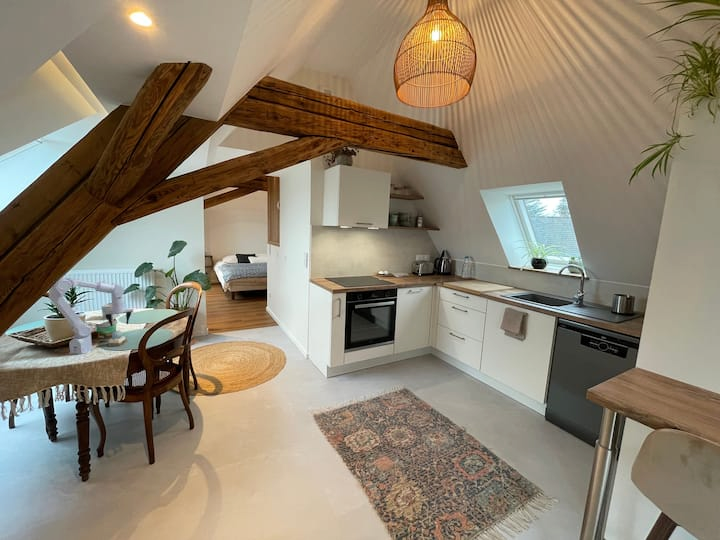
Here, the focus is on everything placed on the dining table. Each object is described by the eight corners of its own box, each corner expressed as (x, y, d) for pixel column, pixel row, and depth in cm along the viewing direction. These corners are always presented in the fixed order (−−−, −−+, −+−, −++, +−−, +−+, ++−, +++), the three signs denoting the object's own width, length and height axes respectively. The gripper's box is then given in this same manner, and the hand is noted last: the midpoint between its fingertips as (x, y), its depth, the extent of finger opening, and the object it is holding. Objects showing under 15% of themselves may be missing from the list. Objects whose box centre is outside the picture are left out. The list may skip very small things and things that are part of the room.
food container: (104, 340, 186) (102, 325, 185) (96, 339, 187) (94, 324, 186) (123, 333, 198) (122, 319, 196) (115, 332, 199) (114, 318, 198)
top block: (119, 343, 179) (118, 339, 179) (109, 343, 178) (108, 339, 178) (125, 339, 184) (124, 336, 184) (115, 339, 184) (115, 336, 183)
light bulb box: (109, 316, 230) (108, 302, 229) (120, 315, 232) (118, 302, 231) (102, 320, 220) (101, 306, 219) (113, 319, 222) (112, 306, 221)
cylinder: (118, 339, 179) (117, 333, 178) (110, 339, 179) (109, 333, 178) (123, 336, 183) (122, 330, 183) (115, 336, 183) (115, 330, 182)
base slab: (120, 347, 179) (119, 343, 179) (108, 347, 178) (108, 343, 178) (127, 342, 185) (126, 339, 185) (116, 342, 185) (115, 339, 184)
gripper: (132, 301, 191) (134, 321, 193) (103, 303, 182) (105, 324, 184) (132, 303, 185) (134, 324, 187) (101, 306, 177) (103, 328, 179)
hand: (119, 324), depth 185 cm, fingers open, 7 cm apart
